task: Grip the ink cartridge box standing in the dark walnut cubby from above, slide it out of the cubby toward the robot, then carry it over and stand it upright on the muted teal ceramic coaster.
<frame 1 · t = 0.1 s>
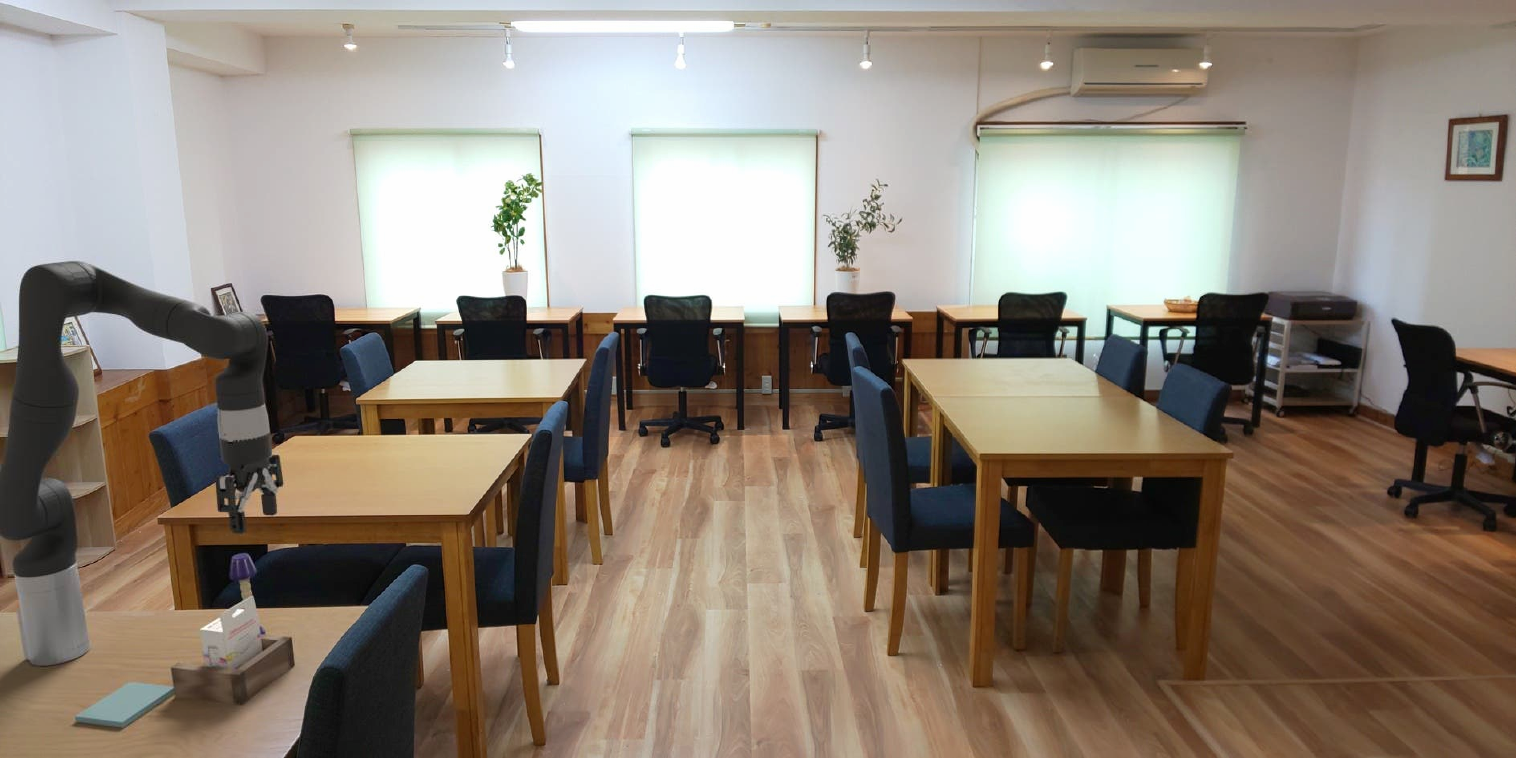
hand: (255, 523, 165), 29 cm above the table, tool pointing down, fingers open, 8 cm apart
ink cartridge box: (236, 681, 170), on the table
toy lamp: (251, 637, 186), on the table
teal coaster: (127, 706, 162), on the table
walnut cubby: (236, 680, 170), on the table
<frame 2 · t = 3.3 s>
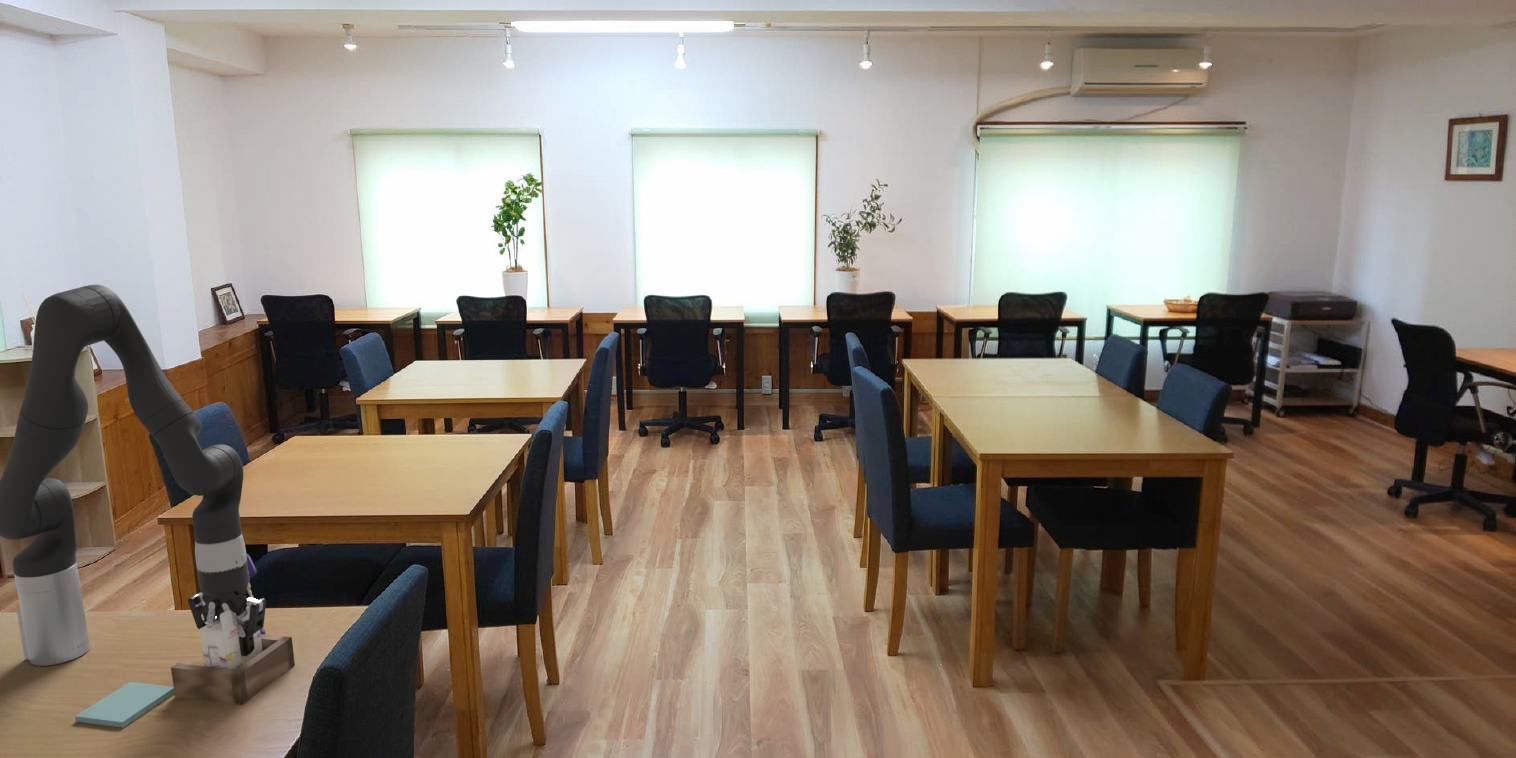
hand: (233, 652, 169), 5 cm above the table, tool pointing down, fingers closed on ink cartridge box, 5 cm apart
ink cartridge box: (237, 681, 170), on the table, touching gripper
everything else where it was.
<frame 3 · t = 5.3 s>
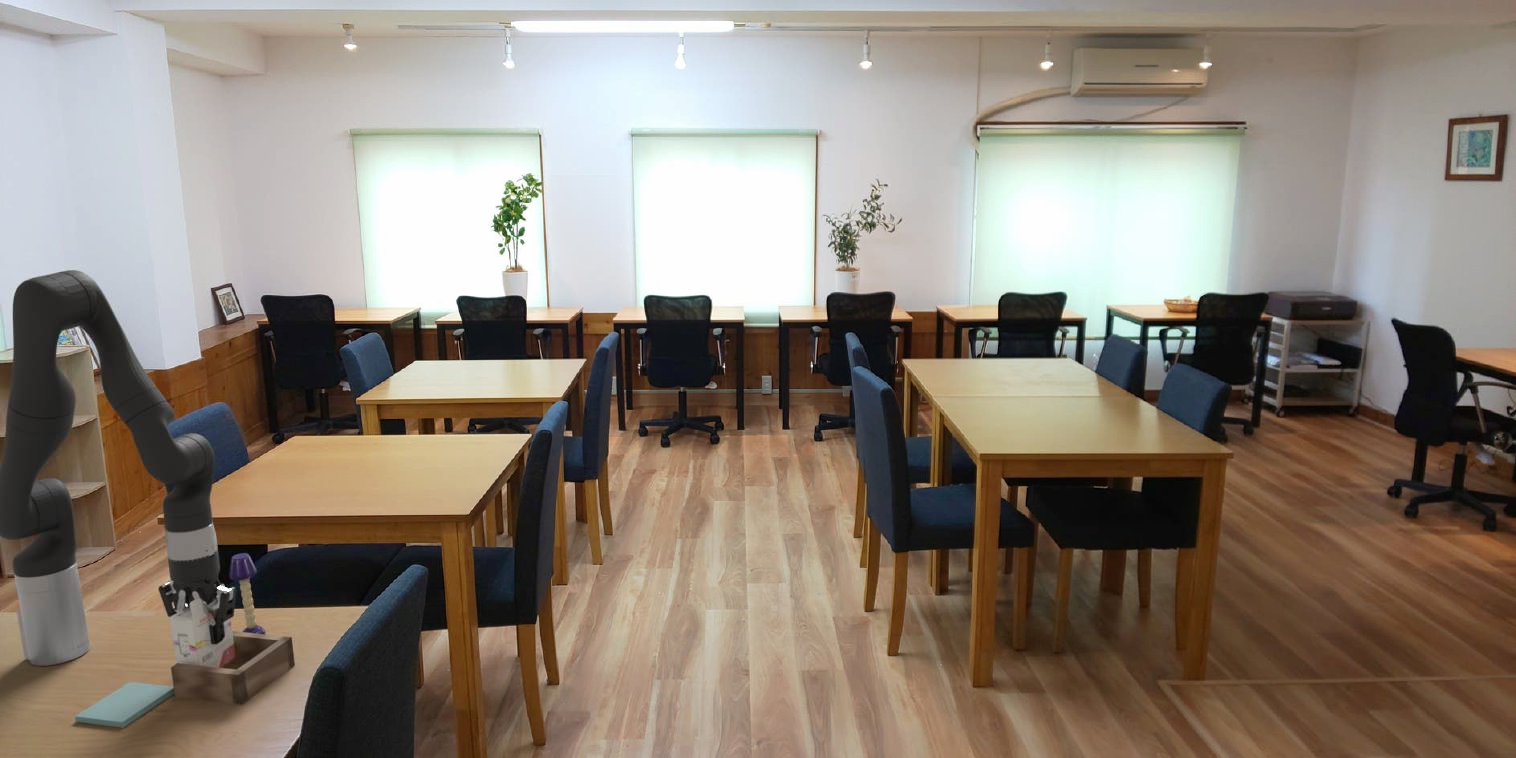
hand: (203, 640, 170), 7 cm above the table, tool pointing down, fingers closed on ink cartridge box, 5 cm apart
ink cartridge box: (207, 669, 171), point 1 cm above the table, touching gripper
everything else where it was.
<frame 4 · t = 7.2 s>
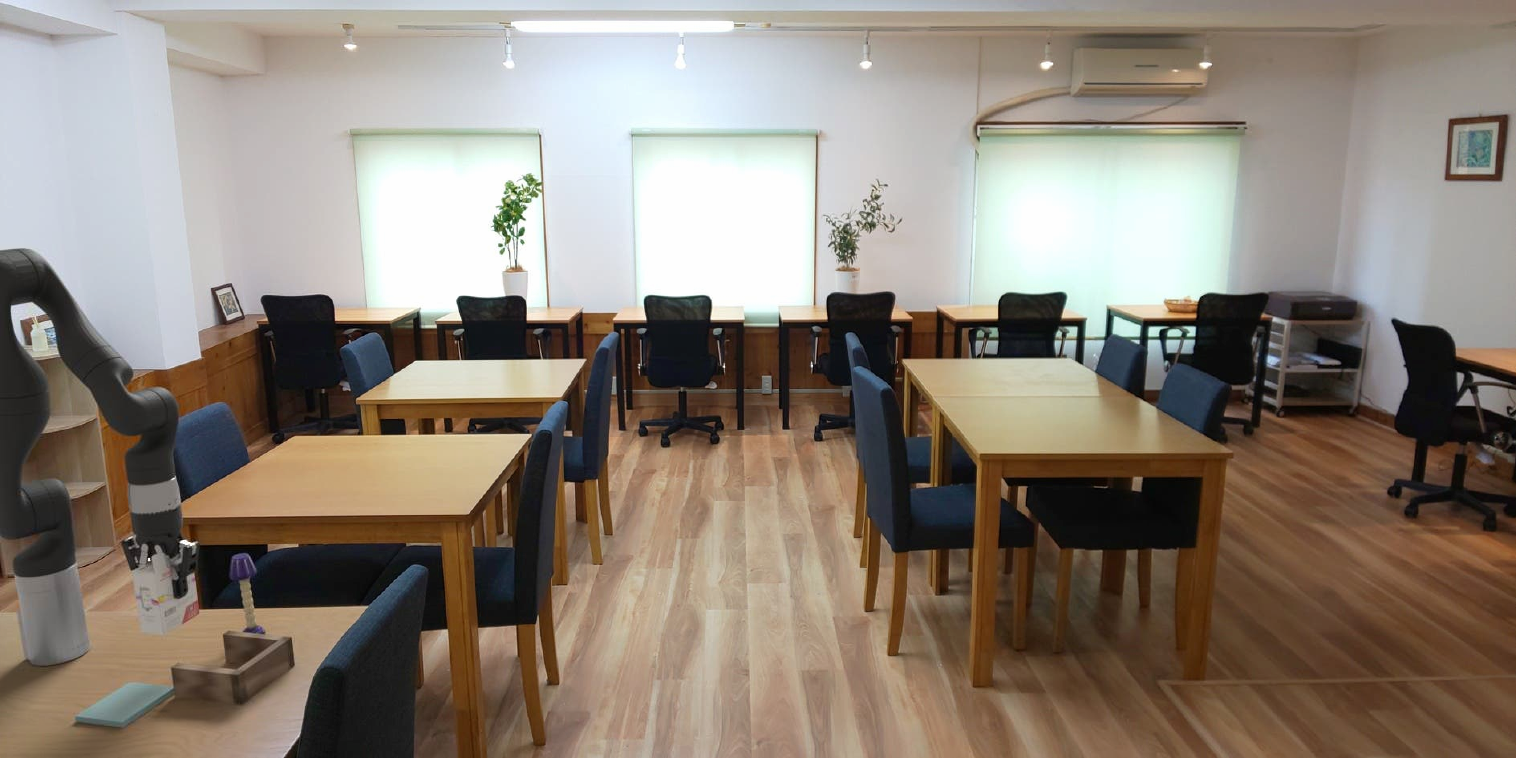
hand: (166, 595, 169), 15 cm above the table, tool pointing down, fingers closed on ink cartridge box, 5 cm apart
ink cartridge box: (170, 624, 171), point 9 cm above the table, touching gripper
everything else where it was.
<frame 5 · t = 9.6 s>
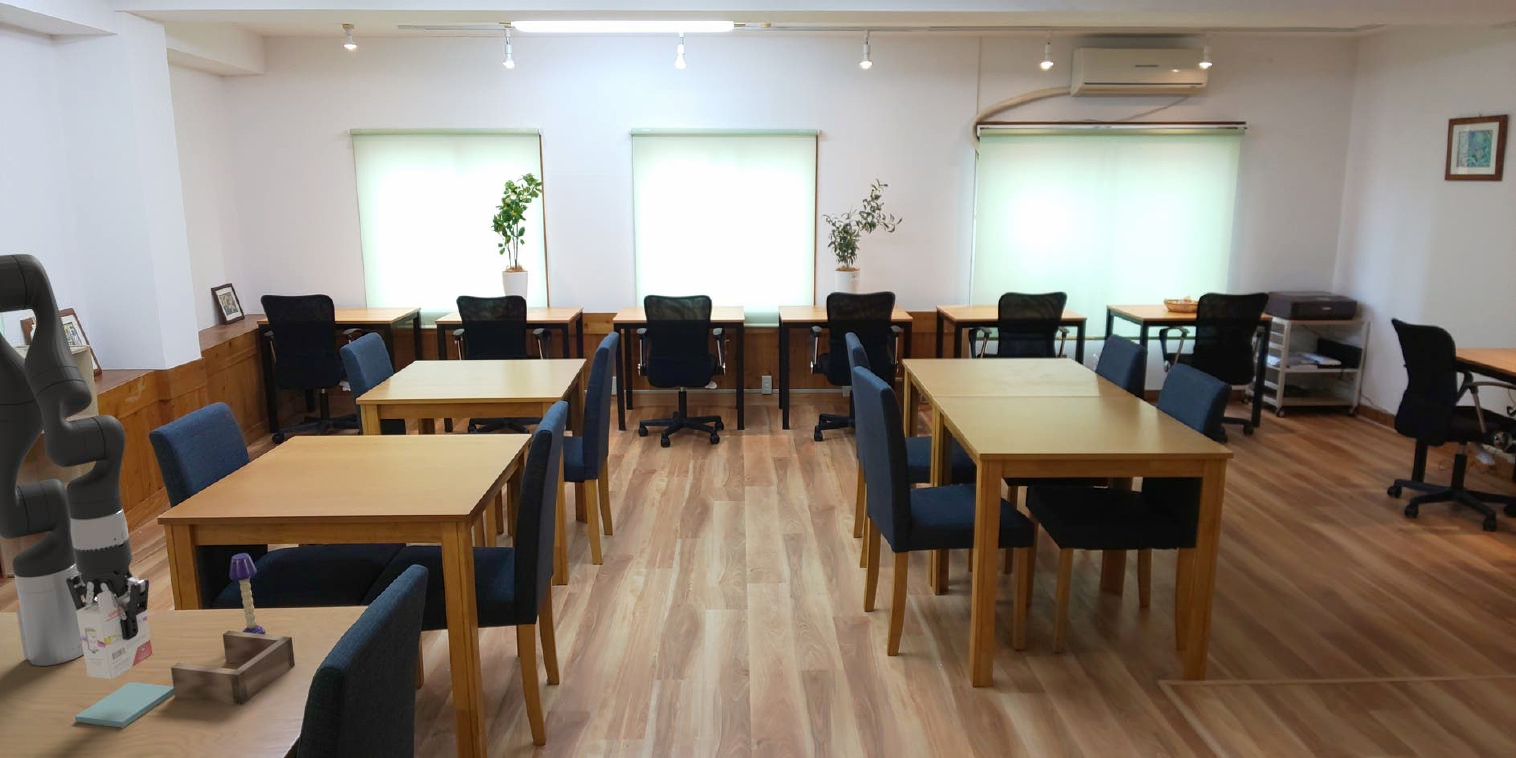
hand: (115, 635, 159), 13 cm above the table, tool pointing down, fingers closed on ink cartridge box, 5 cm apart
ink cartridge box: (120, 667, 160), point 7 cm above the table, touching gripper
everything else where it was.
when the fingers open (7 cm above the table, at t = 11.4 s): ink cartridge box stays where it is, resting on teal coaster.
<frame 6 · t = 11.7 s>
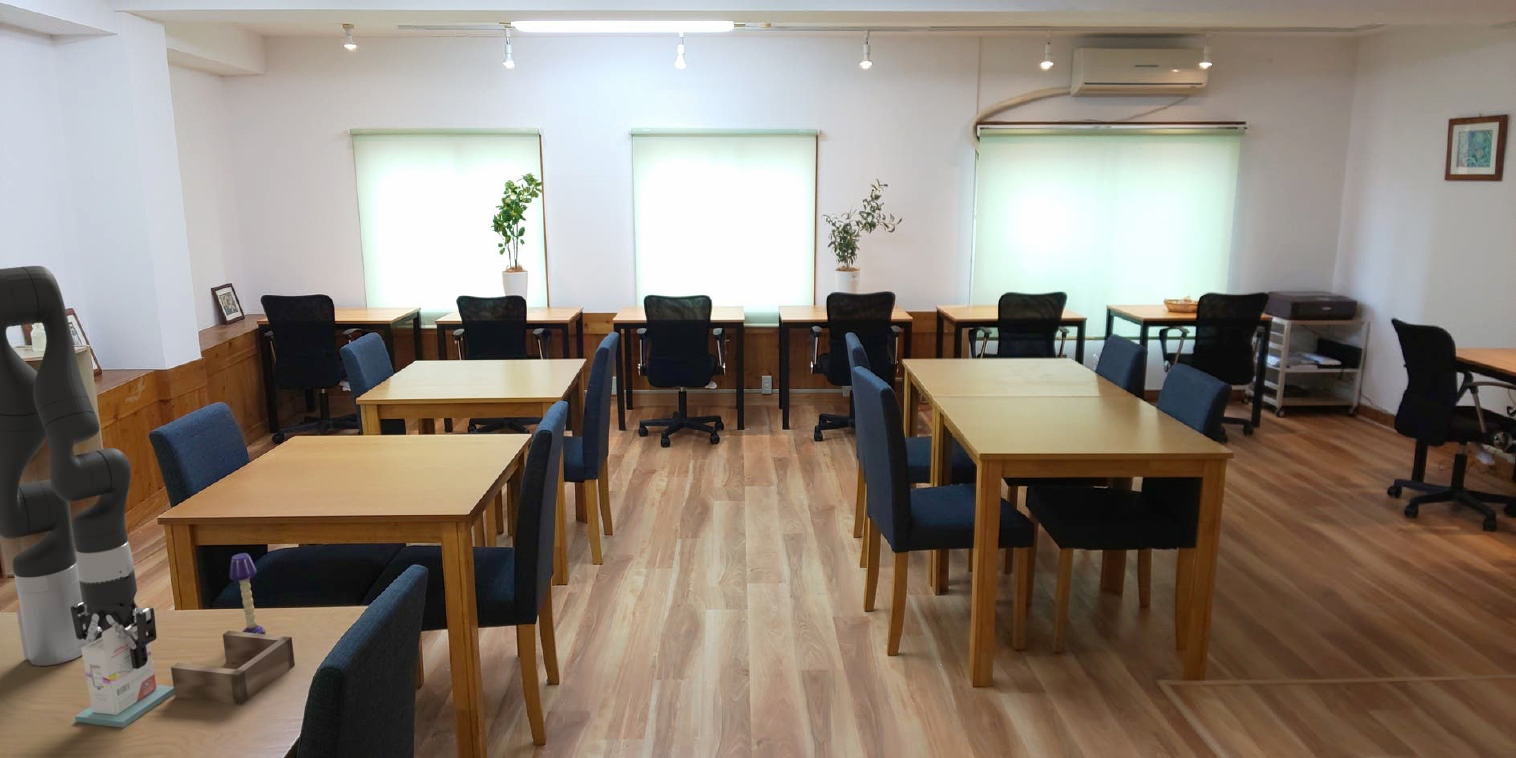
hand: (120, 664, 160), 8 cm above the table, tool pointing down, fingers open, 7 cm apart
ink cartridge box: (124, 702, 162), point 1 cm above the table, touching teal coaster
everything else where it was.
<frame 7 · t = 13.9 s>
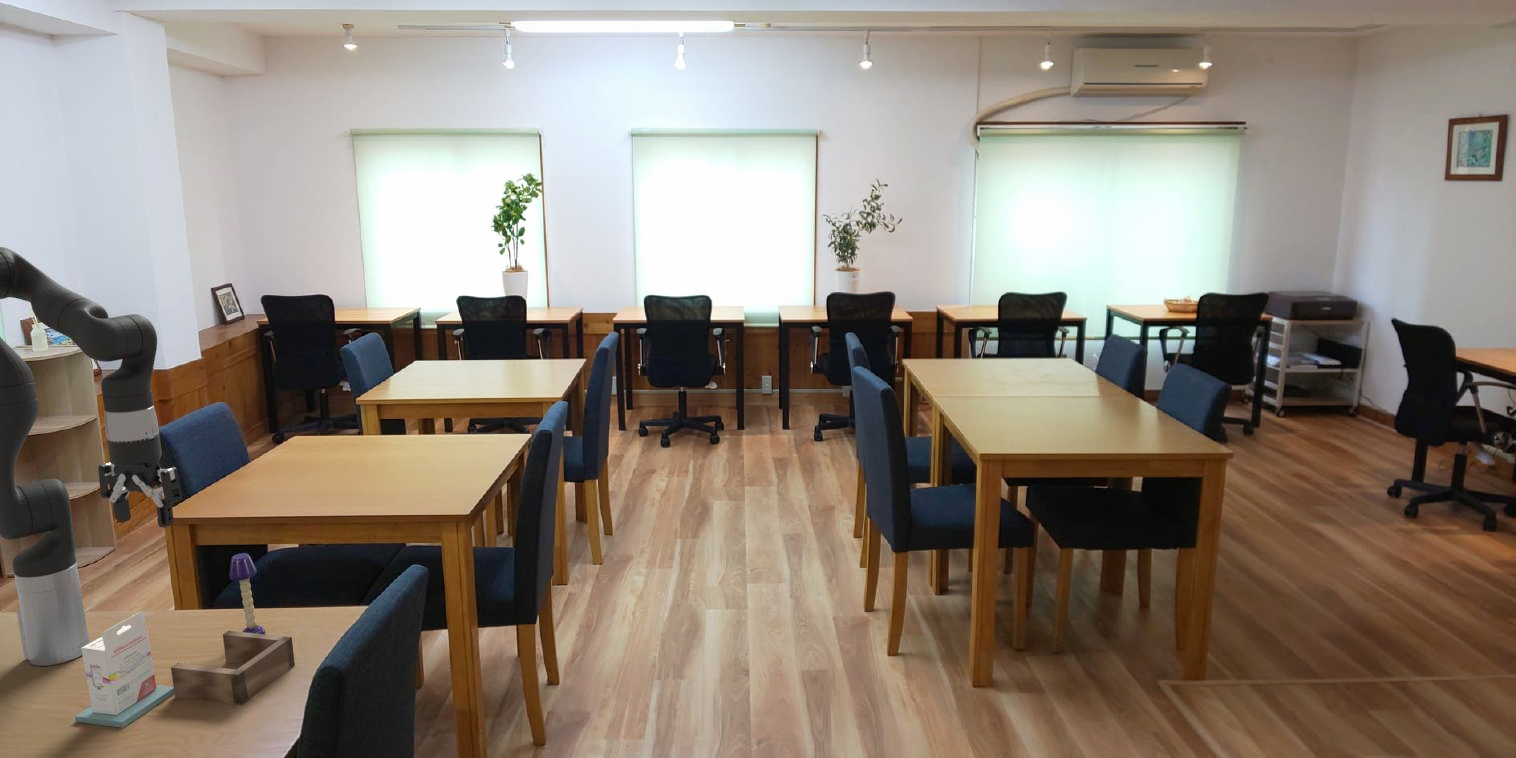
hand: (145, 523, 167), 28 cm above the table, tool pointing down, fingers open, 8 cm apart
nothing on the table moved.
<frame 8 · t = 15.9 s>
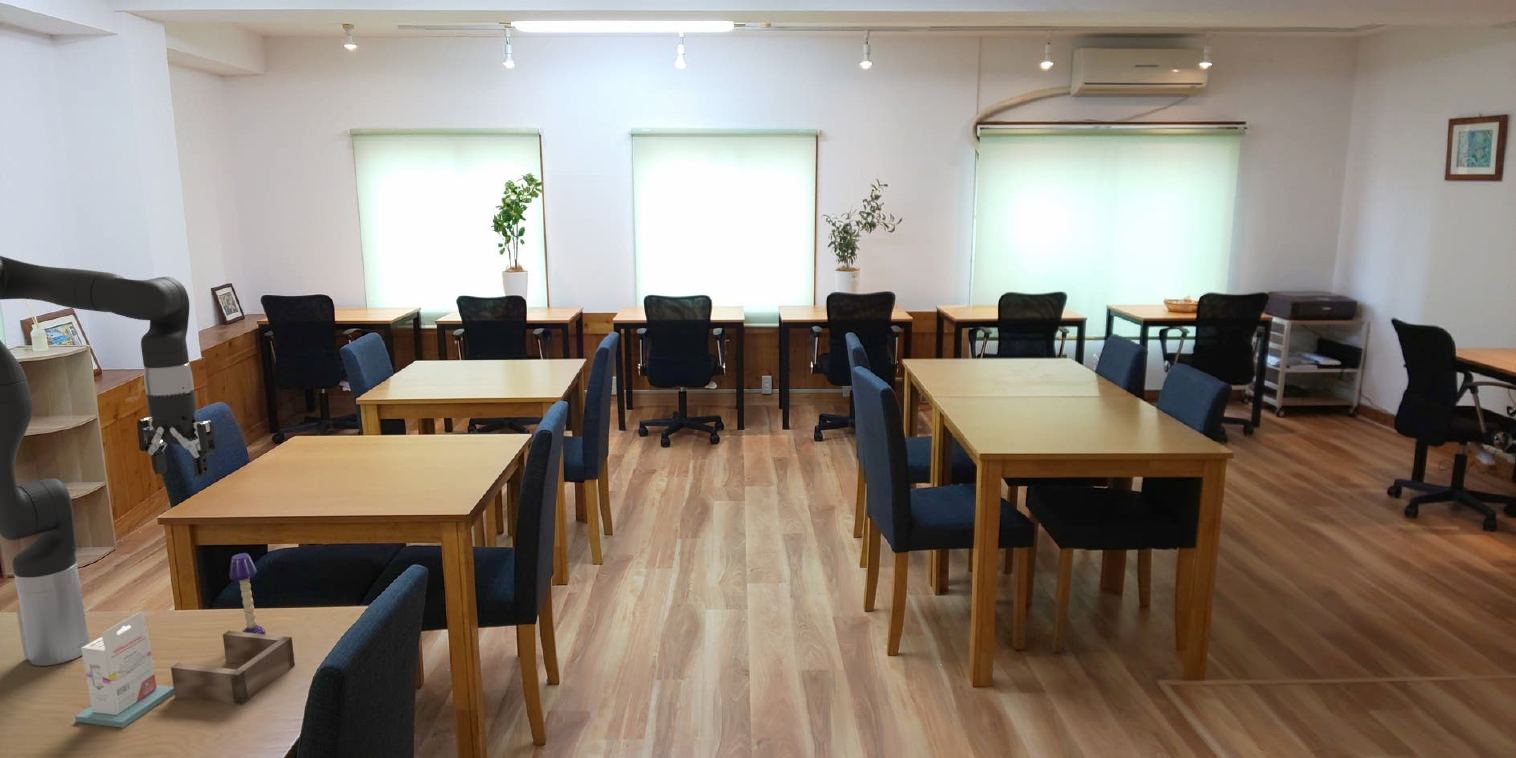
hand: (181, 474, 178), 33 cm above the table, tool pointing down, fingers open, 8 cm apart
nothing on the table moved.
at the end: ink cartridge box inside the target area (0.3 cm from its centre), point 0.8 cm above the table; ink cartridge box tilted 0°; the gripper is holding nothing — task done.
